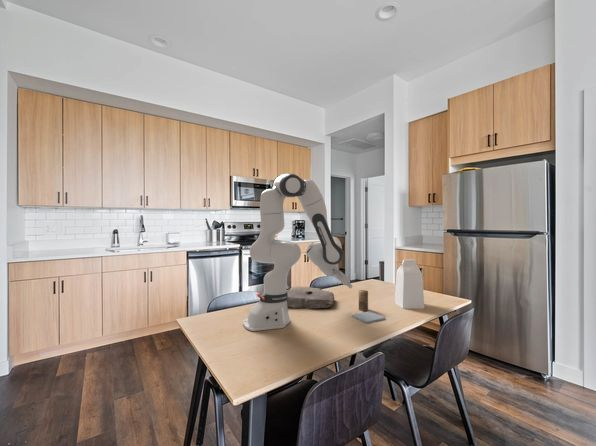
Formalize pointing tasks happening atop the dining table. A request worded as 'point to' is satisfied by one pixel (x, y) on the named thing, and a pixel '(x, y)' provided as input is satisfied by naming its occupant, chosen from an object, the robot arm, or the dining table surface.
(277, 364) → the dining table surface
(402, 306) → the milk
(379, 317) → the mat
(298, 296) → the stone slab
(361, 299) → the roller
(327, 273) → the robot arm
